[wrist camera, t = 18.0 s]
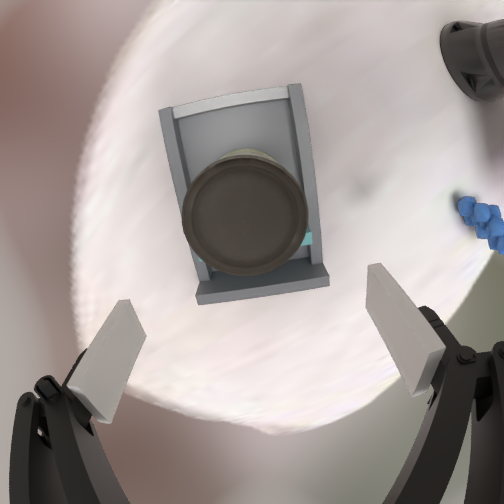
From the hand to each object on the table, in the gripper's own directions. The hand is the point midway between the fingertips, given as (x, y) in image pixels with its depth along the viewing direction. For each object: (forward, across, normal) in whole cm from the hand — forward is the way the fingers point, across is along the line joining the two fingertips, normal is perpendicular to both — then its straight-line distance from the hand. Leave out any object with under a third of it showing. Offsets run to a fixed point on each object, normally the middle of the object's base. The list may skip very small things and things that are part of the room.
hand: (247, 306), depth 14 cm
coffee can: (+23, 0, -2) cm, 23 cm away
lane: (+24, 0, -1) cm, 24 cm away
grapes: (+24, -37, +6) cm, 45 cm away
